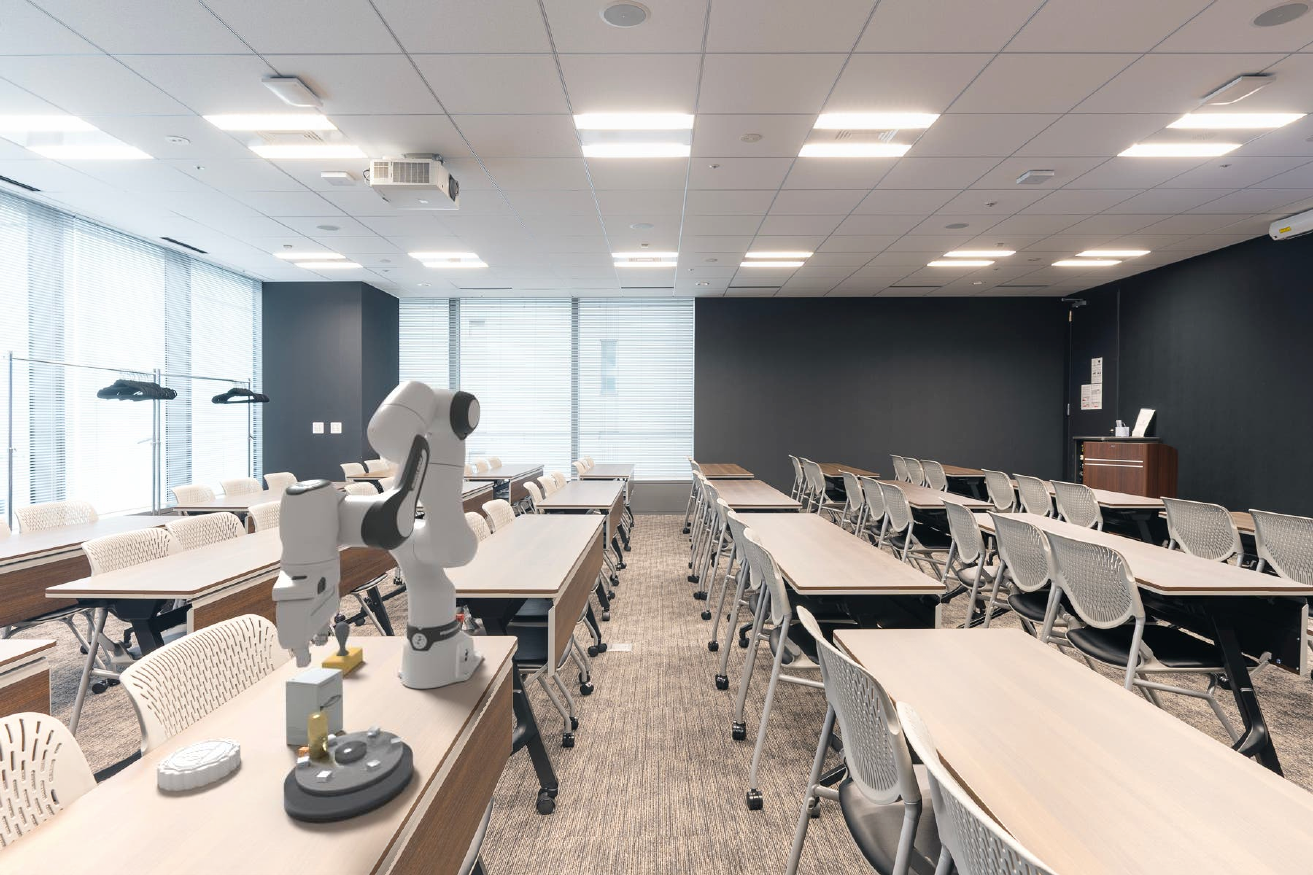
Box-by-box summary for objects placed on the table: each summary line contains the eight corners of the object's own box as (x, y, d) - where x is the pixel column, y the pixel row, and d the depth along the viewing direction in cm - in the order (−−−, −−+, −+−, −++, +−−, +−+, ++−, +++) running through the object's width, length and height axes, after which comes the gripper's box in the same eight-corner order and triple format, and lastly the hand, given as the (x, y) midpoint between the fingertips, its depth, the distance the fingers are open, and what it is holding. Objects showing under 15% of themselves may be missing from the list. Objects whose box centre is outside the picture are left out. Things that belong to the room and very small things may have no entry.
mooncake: (188, 755, 114) (188, 736, 113) (254, 752, 115) (254, 733, 114) (139, 794, 102) (138, 773, 102) (213, 790, 103) (213, 769, 103)
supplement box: (317, 748, 115) (316, 684, 115) (285, 744, 117) (283, 680, 117) (344, 729, 123) (343, 668, 122) (313, 725, 124) (312, 665, 124)
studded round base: (271, 793, 96) (270, 739, 96) (335, 739, 113) (334, 693, 112) (369, 798, 95) (369, 744, 95) (419, 742, 111) (419, 696, 111)
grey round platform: (340, 748, 115) (340, 720, 115) (434, 758, 112) (434, 729, 112) (253, 815, 96) (253, 781, 96) (365, 829, 92) (364, 794, 92)
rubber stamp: (341, 660, 158) (340, 616, 158) (363, 660, 158) (362, 615, 158) (321, 676, 148) (320, 629, 148) (344, 676, 149) (343, 628, 148)
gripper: (310, 562, 111) (312, 634, 112) (267, 593, 92) (269, 681, 92) (347, 560, 113) (349, 631, 113) (312, 590, 93) (314, 677, 94)
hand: (313, 654), depth 103 cm, fingers open, 8 cm apart
